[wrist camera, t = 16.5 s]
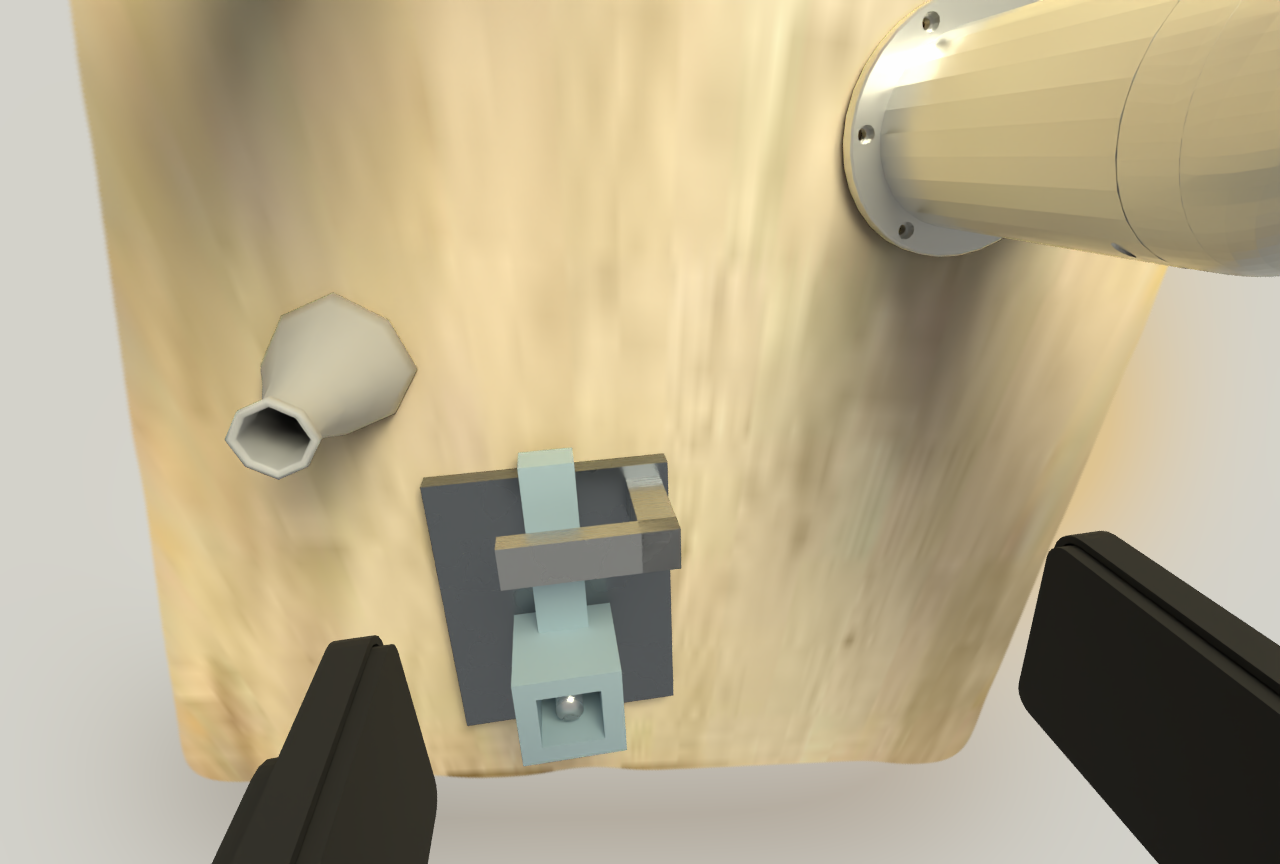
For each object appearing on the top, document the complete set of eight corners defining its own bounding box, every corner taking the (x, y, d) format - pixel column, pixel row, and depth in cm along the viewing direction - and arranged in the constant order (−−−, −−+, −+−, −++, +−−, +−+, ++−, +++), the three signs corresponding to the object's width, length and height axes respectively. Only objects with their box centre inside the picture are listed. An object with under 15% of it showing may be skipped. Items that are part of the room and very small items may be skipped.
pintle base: (663, 453, 39) (690, 513, 32) (669, 682, 46) (692, 769, 39) (423, 477, 37) (399, 546, 30) (469, 711, 44) (457, 808, 38)
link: (614, 675, 43) (626, 749, 38) (524, 688, 43) (523, 766, 37) (598, 444, 37) (609, 495, 31) (490, 455, 36) (483, 509, 30)
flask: (332, 265, 32) (252, 308, 23) (442, 367, 35) (411, 442, 26) (235, 361, 33) (122, 439, 24) (351, 453, 36) (289, 553, 27)
